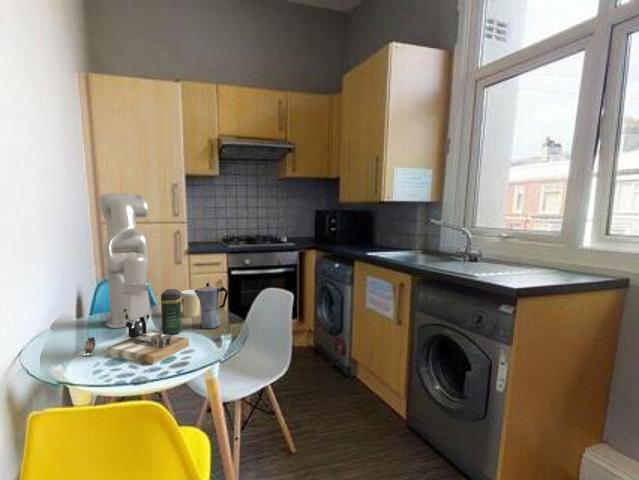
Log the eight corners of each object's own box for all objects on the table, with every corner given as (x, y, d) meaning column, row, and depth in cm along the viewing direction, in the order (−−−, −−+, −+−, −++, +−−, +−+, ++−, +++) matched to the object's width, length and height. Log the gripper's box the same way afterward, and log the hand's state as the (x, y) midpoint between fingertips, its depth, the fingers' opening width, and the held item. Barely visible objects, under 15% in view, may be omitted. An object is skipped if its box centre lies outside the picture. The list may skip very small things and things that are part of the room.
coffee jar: (181, 334, 155) (180, 292, 153) (161, 336, 153) (159, 293, 151) (182, 327, 164) (180, 287, 163) (163, 329, 162) (161, 288, 160)
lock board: (107, 355, 134) (106, 338, 133) (146, 338, 151) (146, 323, 150) (153, 364, 126) (152, 346, 126) (188, 345, 143) (188, 330, 142)
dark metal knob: (127, 339, 139) (126, 322, 139) (136, 336, 143) (135, 319, 142) (153, 344, 135) (153, 326, 134) (162, 340, 138) (161, 323, 138)
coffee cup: (184, 312, 187) (183, 289, 186) (202, 312, 188) (202, 289, 187) (179, 318, 178) (178, 294, 177) (198, 317, 179) (198, 293, 178)
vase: (85, 351, 137) (86, 335, 137) (100, 351, 138) (101, 336, 138) (77, 356, 132) (78, 340, 132) (93, 357, 133) (94, 341, 132)
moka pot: (197, 322, 171) (196, 281, 169) (230, 322, 172) (229, 280, 170) (191, 329, 161) (190, 285, 159) (227, 329, 163) (226, 285, 161)
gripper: (145, 283, 147) (147, 327, 149) (108, 292, 132) (111, 341, 133) (160, 284, 145) (161, 329, 146) (124, 294, 129) (126, 344, 131)
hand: (137, 334), depth 140 cm, fingers closed on dark metal knob, 4 cm apart
